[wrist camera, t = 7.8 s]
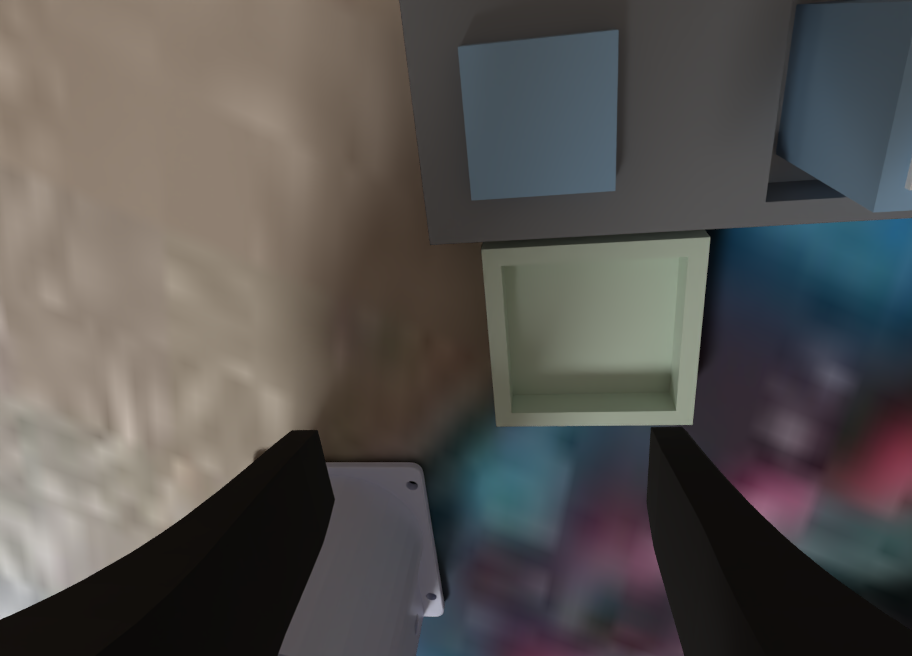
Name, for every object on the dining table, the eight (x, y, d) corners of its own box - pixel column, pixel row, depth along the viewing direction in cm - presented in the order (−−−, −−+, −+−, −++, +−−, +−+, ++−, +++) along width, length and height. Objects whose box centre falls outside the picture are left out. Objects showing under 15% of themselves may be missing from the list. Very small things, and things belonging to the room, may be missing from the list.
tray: (681, 396, 23) (692, 424, 21) (499, 399, 24) (496, 426, 22) (696, 219, 20) (710, 237, 18) (485, 231, 21) (481, 249, 19)
